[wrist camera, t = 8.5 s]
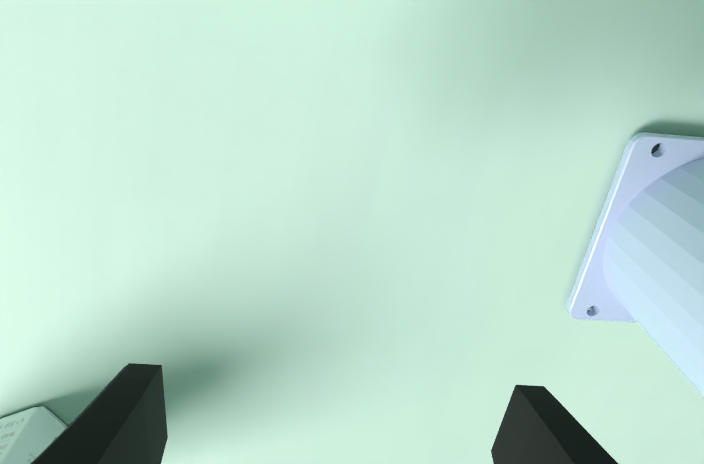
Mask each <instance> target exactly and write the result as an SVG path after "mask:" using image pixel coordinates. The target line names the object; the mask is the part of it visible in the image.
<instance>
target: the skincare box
mask: <svg viewBox="0 0 704 464" xmlns="http://www.w3.org/2000/svg"><path fill="white" fill-rule="evenodd" d="M66 428H67V426H66V425H65V424H64V423H63V422H62V421H61V420H60V419H59V418H57V417H56V416H55V415H54V414H53V413H52V412H50V411H49V410H48V409H46V408H45V407H43V406H40V407H34V408H30V409H27V410H24V411H22V412H19V413H16V414H13V415H10V416H7V417H4V418H1V419H0V464H30V463H31V462H33V461H34V460H35V459H36V458H37V457H38V456H39V455H40V454H41V453H42V452H43V451H44V450H45V449H46V448H47V447H48V446H49V445H50V444H51V443H52V442H53V441H54V440H55V439H56V438H57V437H58V436H59V435H60V434H61V433H62V432H63V431H64V430H65V429H66Z"/></svg>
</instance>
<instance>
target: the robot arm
mask: <svg viewBox="0 0 704 464" xmlns="http://www.w3.org/2000/svg"><path fill="white" fill-rule="evenodd" d="M658 143H660V146H659V148H658V150H657V151H656V152H654V153H651V151H652V148H653V147H654V146H655V145H656V144H658ZM592 306H594V307H593V308H592V309H590V310H588V309H589V308H590V307H592ZM566 310H567V312H568V313H569V315H570V316H571V317H572V318H574V319H582V320H601V321H620V322H638V324H639V325H640V326H641V327H642V328H643V329H644V330H645V332H646V333H647V334H648V335H649V336H650V337H651V338H652V340H653V341H654V342H655V343H656V344H657V345H658V346H659V348H660V349H661V350H662V351H663V352H664V353H665V354H666V356H667V357H668V358H669V359H670V360H671V361H672V362H673V364H674V365H675V366H676V367H677V368H678V369H679V370H680V372H681V373H682V374H683V375H684V376H685V377H686V378H687V380H688V381H689V382H690V383H691V384H692V385H693V386H694V388H695V389H696V390H697V391H698V392H699V393H700V394H701V396H702V397H703V398H704V137H694V136H683V135H671V134H660V133H649V132H642V133H638V134H636V135H634V136H633V137H632V138H631V139H630V140H629V141H628V143H627V145H626V147H625V150H624V153H623V155H622V158H621V161H620V163H619V166H618V169H617V171H616V174H615V177H614V179H613V182H612V185H611V187H610V190H609V193H608V195H607V198H606V201H605V203H604V206H603V209H602V211H601V214H600V217H599V219H598V222H597V225H596V227H595V230H594V233H593V235H592V238H591V241H590V243H589V246H588V249H587V251H586V254H585V257H584V259H583V262H582V265H581V267H580V270H579V273H578V275H577V278H576V281H575V283H574V286H573V289H572V291H571V294H570V297H569V299H568V302H567V305H566ZM166 441H167V425H166V413H165V401H164V389H163V377H162V365H149V364H131V363H129V364H128V365H127V366H125V367H124V368H123V369H122V370H121V371H120V372H119V373H118V374H117V376H116V377H115V378H114V379H113V380H112V381H111V382H110V383H109V384H108V385H107V386H106V387H105V388H104V390H103V391H102V392H101V393H100V394H99V395H98V396H97V397H96V398H95V399H94V400H93V401H92V402H91V403H90V404H89V405H88V406H87V408H86V409H85V410H84V411H83V412H82V413H81V414H80V415H79V416H78V417H77V418H76V419H75V420H74V421H73V422H72V423H71V424H70V425H69V426H68V427H67V428H66V429H65V430H64V431H63V432H62V433H61V434H60V435H59V436H58V437H57V438H56V439H55V440H54V441H53V442H52V443H51V444H50V445H49V446H48V447H47V448H46V449H45V450H44V451H43V452H42V453H41V454H40V455H39V456H38V457H37V458H36V459H35V460H34V461H33V462H31V463H30V464H161V461H162V457H163V453H164V449H165V445H166ZM491 452H492V457H493V462H494V464H618V463H617V462H616V461H615V460H614V459H613V458H612V457H611V456H610V455H609V454H608V453H607V452H606V451H605V450H604V449H603V448H602V446H601V445H600V444H599V443H598V442H597V441H596V440H595V439H594V438H593V437H592V436H591V435H590V434H589V433H588V432H587V431H586V430H585V429H584V428H583V427H582V426H581V424H580V423H579V422H578V421H577V420H576V419H575V418H574V417H573V416H572V415H571V414H570V413H569V412H568V411H567V410H566V409H565V408H564V407H563V406H562V405H561V403H560V402H559V401H558V400H557V399H556V398H555V397H554V396H553V395H552V394H551V393H550V392H549V391H548V390H547V389H546V388H545V387H544V386H527V385H516V386H515V388H514V391H513V394H512V396H511V399H510V402H509V404H508V407H507V410H506V412H505V415H504V418H503V420H502V423H501V426H500V428H499V431H498V434H497V436H496V439H495V442H494V444H493V447H492V450H491Z"/></svg>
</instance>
